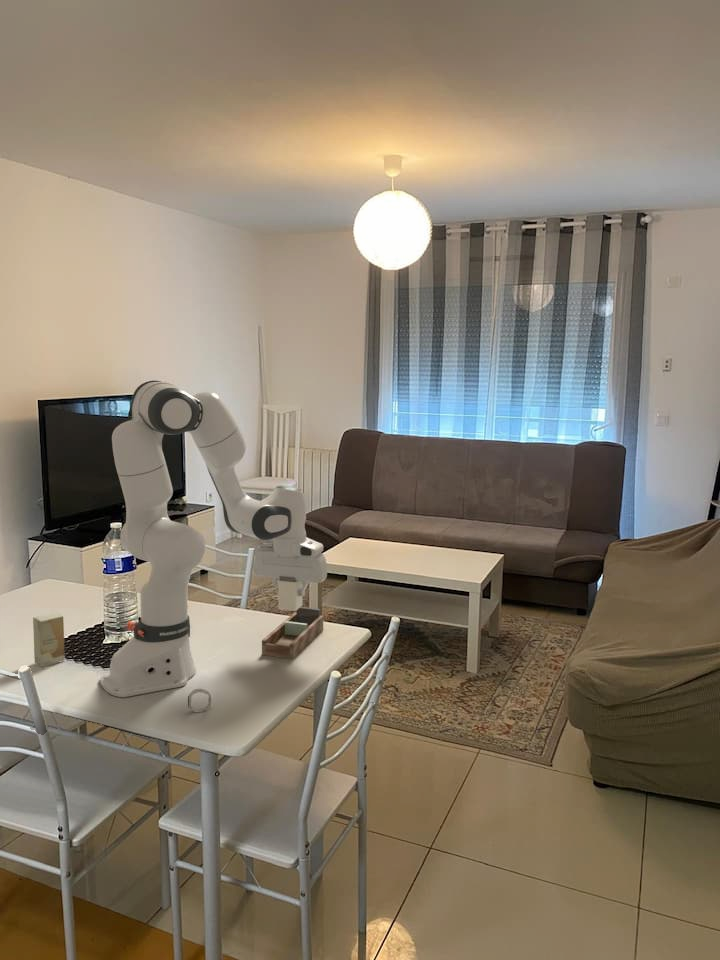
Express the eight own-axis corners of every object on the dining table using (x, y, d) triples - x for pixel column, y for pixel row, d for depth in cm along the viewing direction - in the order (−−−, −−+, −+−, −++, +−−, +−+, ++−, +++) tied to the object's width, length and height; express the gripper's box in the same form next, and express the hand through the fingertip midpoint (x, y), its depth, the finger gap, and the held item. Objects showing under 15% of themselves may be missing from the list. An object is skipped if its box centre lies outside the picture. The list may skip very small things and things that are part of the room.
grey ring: (187, 709, 160) (187, 688, 159) (210, 706, 161) (210, 685, 160) (188, 715, 157) (188, 694, 156) (211, 712, 158) (211, 691, 158)
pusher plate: (306, 636, 200) (306, 624, 199) (284, 634, 202) (284, 622, 201) (307, 635, 201) (307, 623, 200) (286, 632, 203) (286, 621, 202)
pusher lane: (293, 659, 188) (293, 637, 187) (261, 654, 190) (261, 633, 189) (323, 629, 209) (323, 609, 209) (294, 625, 212) (294, 605, 211)
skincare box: (41, 668, 180) (38, 621, 178) (34, 663, 183) (31, 617, 181) (66, 660, 185) (64, 615, 183) (58, 656, 188) (56, 611, 186)
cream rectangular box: (295, 611, 193) (295, 578, 191) (278, 609, 194) (278, 576, 192) (302, 605, 197) (302, 573, 196) (285, 603, 199) (285, 571, 197)
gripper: (249, 545, 193) (250, 594, 195) (320, 551, 187) (321, 602, 189) (259, 539, 199) (260, 587, 201) (329, 545, 193) (329, 594, 195)
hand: (290, 594), depth 195 cm, fingers closed on cream rectangular box, 5 cm apart
